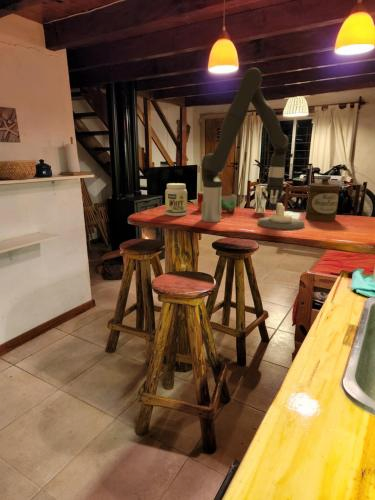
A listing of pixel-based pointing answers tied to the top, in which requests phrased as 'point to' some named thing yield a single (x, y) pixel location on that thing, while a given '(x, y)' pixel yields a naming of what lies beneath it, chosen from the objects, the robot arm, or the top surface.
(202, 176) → the robot arm
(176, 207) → the supplement tub
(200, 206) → the canned food
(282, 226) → the dial base
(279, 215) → the dial lever
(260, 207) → the beer glass
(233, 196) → the food container
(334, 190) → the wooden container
